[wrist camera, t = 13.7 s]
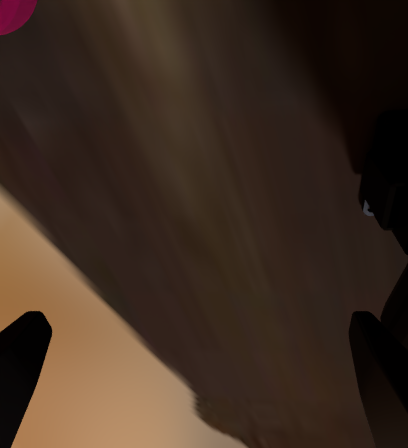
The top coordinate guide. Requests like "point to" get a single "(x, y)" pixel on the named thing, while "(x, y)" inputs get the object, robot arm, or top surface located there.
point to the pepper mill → (14, 14)
